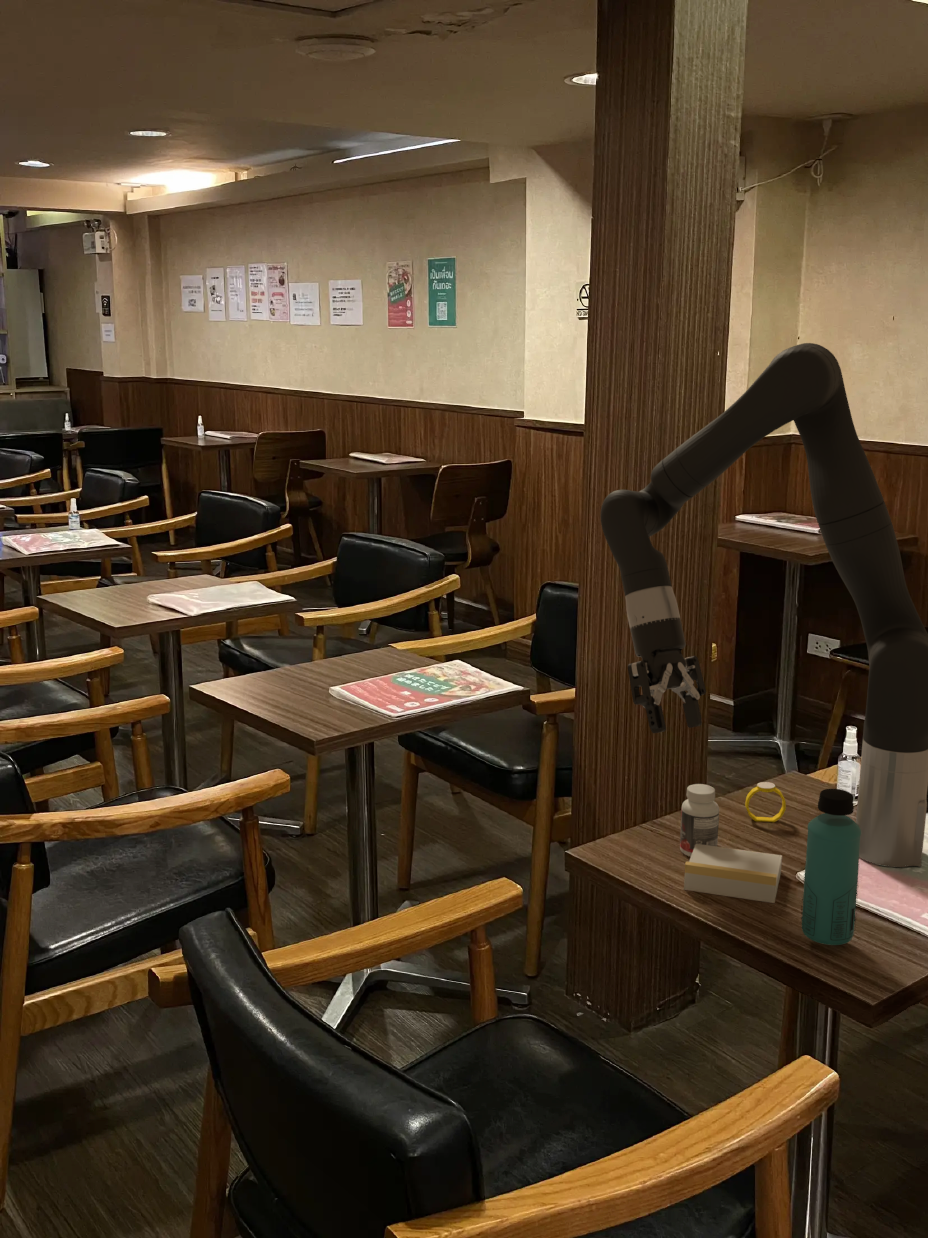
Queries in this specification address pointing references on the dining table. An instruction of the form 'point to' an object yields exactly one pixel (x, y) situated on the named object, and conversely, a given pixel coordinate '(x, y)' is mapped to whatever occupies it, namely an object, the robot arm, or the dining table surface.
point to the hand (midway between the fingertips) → (677, 729)
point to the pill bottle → (699, 818)
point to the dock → (733, 873)
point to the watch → (765, 788)
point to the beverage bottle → (831, 871)
